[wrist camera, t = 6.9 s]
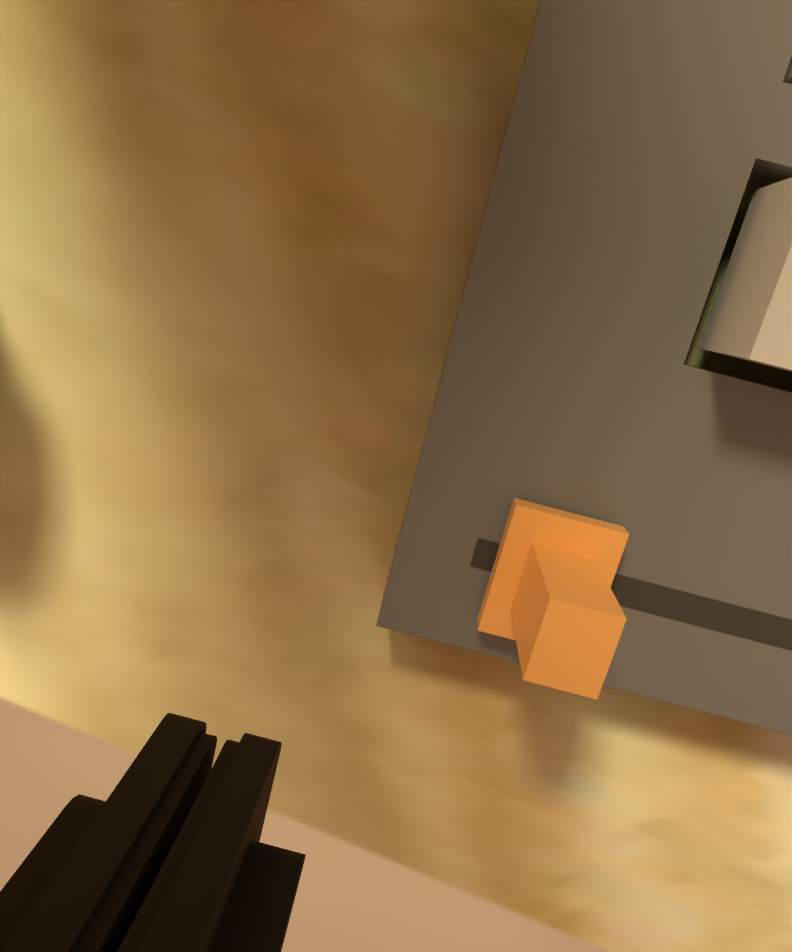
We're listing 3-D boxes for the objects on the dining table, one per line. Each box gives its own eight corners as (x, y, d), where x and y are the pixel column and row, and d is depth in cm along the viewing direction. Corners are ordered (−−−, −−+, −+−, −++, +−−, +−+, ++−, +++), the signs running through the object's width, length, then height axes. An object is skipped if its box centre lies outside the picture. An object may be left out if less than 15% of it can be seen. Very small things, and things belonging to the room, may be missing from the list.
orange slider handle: (513, 497, 23) (531, 554, 18) (623, 526, 23) (670, 591, 18) (476, 619, 24) (482, 704, 19) (581, 647, 24) (614, 740, 19)
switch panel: (594, -205, 21) (617, -286, 18) (1266, -39, 21) (1399, -94, 18) (384, 590, 28) (376, 626, 25) (892, 724, 27) (945, 776, 25)
